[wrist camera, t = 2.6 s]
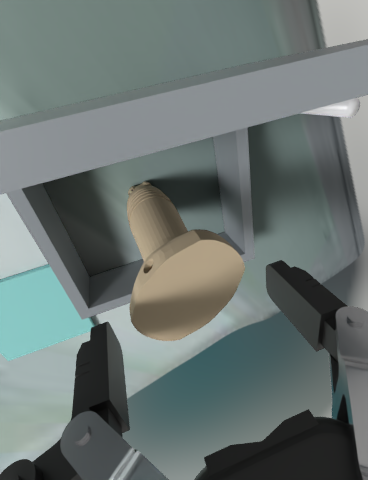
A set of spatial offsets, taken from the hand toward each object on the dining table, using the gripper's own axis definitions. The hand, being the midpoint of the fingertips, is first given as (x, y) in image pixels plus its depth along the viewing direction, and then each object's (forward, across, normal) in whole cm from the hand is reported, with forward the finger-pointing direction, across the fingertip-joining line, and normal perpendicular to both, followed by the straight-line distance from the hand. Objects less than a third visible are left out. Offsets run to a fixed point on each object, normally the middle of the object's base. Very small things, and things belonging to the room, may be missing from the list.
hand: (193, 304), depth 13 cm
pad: (+16, +15, +9) cm, 23 cm away
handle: (+16, 0, 0) cm, 16 cm away
